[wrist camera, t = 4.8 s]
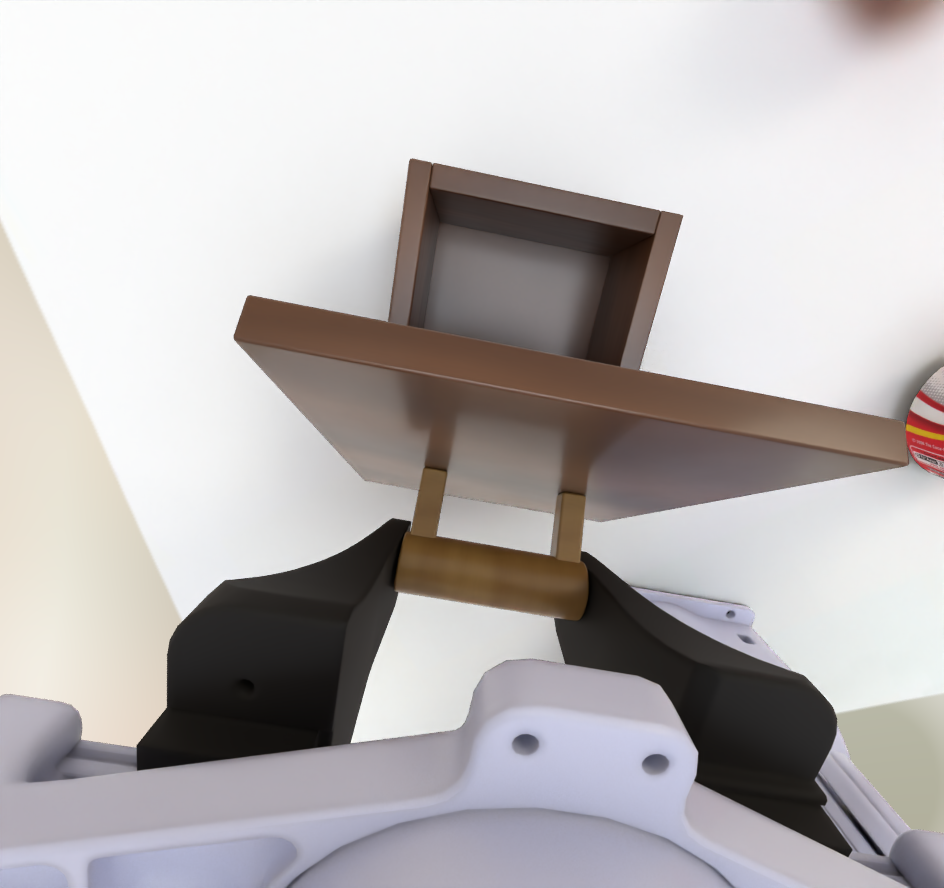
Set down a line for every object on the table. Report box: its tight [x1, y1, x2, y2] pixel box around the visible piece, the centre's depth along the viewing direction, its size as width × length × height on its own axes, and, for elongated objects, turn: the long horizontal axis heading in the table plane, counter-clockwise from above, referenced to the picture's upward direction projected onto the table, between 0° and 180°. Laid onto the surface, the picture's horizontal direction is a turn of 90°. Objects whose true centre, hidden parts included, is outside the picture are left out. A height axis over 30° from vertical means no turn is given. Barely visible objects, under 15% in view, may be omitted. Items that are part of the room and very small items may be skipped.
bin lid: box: [234, 295, 909, 621], centre depth 11 cm, size 12×10×4 cm
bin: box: [388, 159, 683, 370], centre depth 19 cm, size 11×10×6 cm
